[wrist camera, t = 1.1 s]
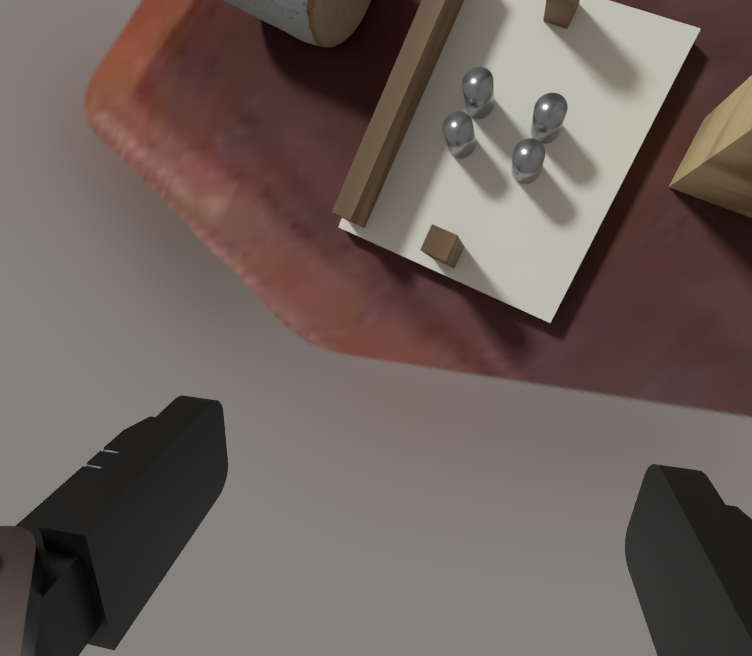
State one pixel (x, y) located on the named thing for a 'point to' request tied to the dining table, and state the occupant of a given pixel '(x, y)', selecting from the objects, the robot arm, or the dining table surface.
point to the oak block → (722, 155)
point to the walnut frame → (399, 110)
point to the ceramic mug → (309, 17)
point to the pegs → (481, 104)
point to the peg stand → (513, 124)
